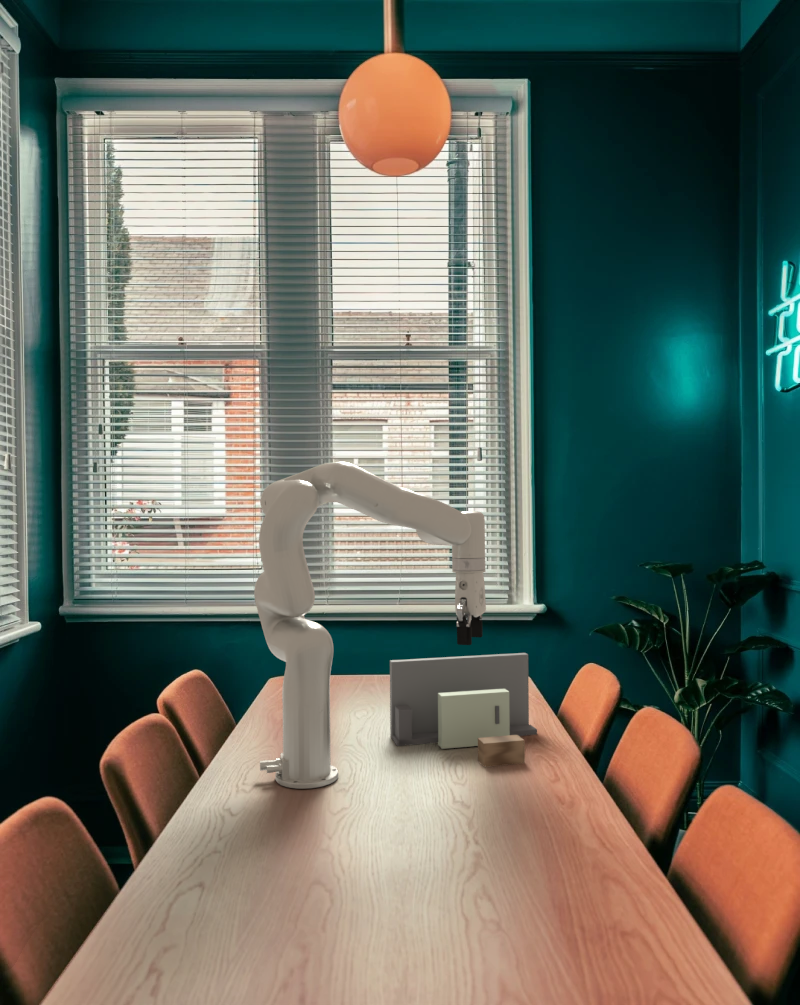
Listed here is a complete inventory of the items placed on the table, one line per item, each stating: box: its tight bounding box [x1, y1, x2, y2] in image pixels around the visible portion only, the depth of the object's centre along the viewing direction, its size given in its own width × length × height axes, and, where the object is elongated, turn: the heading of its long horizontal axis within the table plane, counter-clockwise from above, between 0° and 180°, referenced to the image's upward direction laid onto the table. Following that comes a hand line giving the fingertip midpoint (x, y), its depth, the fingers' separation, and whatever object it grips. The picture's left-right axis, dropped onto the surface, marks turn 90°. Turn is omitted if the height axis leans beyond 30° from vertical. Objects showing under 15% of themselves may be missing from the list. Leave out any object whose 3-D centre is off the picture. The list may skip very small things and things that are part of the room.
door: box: [437, 689, 510, 750], centre depth 174 cm, size 16×3×12 cm, turn 103°
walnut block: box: [477, 735, 526, 768], centre depth 163 cm, size 9×4×5 cm, turn 103°
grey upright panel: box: [389, 652, 538, 747], centre depth 182 cm, size 34×7×18 cm, turn 103°
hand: (470, 640), depth 175 cm, fingers open, 9 cm apart
